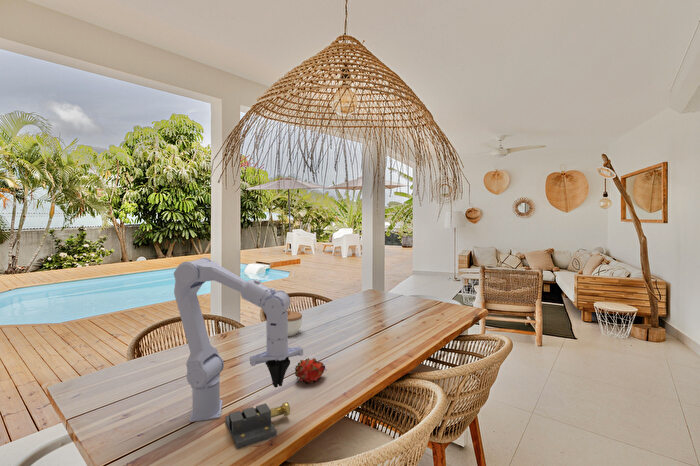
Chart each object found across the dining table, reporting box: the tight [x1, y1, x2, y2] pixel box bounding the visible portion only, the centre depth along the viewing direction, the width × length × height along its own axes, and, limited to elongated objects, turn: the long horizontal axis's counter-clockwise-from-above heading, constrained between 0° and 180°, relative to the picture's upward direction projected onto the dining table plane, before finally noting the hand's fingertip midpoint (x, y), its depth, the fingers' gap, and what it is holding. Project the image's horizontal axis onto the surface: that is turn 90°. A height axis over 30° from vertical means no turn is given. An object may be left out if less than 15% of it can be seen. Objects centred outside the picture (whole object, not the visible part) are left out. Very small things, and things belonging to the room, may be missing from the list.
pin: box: [257, 401, 291, 419], centre depth 96 cm, size 3×11×3 cm, turn 121°
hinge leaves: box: [224, 403, 278, 450], centre depth 94 cm, size 13×10×4 cm
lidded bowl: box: [287, 310, 303, 337], centre depth 168 cm, size 13×13×11 cm
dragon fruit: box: [294, 357, 326, 385], centre depth 121 cm, size 8×8×12 cm
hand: (277, 385), depth 97 cm, fingers closed
